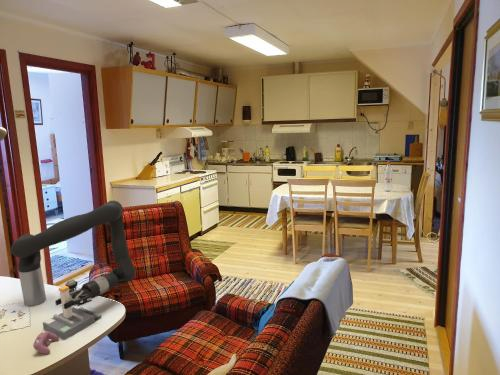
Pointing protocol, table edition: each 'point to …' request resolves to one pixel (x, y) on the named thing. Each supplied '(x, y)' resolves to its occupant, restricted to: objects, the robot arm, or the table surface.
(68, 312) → the breaker lever
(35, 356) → the table surface
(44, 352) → the video game controller
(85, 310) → the grey long flat bar
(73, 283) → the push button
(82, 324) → the breaker panel
